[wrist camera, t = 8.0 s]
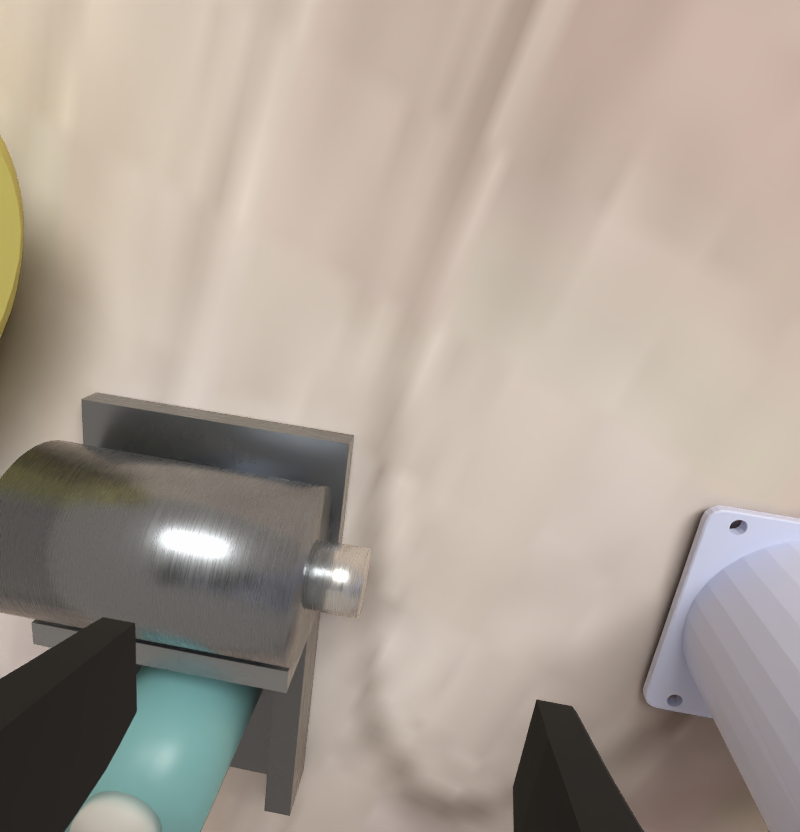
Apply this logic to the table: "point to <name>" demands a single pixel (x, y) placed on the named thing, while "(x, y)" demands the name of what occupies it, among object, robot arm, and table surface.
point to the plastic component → (9, 234)
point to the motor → (191, 553)
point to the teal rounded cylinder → (170, 755)
